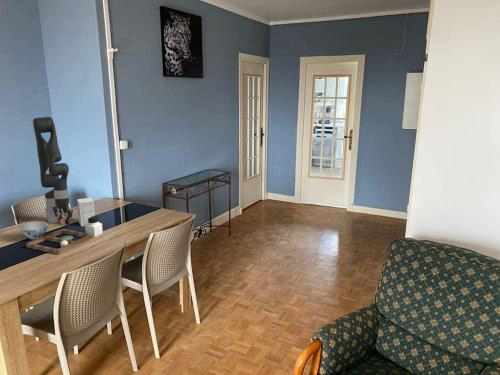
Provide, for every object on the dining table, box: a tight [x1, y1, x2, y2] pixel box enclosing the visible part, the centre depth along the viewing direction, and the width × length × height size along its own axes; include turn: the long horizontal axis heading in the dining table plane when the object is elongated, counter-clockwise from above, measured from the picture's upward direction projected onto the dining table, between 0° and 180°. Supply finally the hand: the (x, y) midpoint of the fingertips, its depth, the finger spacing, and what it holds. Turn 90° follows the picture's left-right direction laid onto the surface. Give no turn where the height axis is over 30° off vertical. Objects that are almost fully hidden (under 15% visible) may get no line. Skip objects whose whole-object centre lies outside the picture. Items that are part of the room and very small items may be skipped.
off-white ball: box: [59, 240, 68, 248], centre depth 217 cm, size 4×4×4 cm
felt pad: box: [59, 235, 74, 241], centre depth 230 cm, size 8×8×1 cm
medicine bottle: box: [84, 215, 104, 238], centre depth 235 cm, size 7×7×12 cm
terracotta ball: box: [60, 217, 67, 226], centre depth 227 cm, size 4×4×4 cm
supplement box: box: [76, 197, 96, 227], centre depth 254 cm, size 10×9×17 cm
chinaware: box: [19, 220, 49, 240], centre depth 229 cm, size 15×15×8 cm
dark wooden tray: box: [24, 228, 93, 255], centre depth 223 cm, size 24×26×2 cm
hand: (64, 223), depth 227 cm, fingers closed on terracotta ball, 4 cm apart
